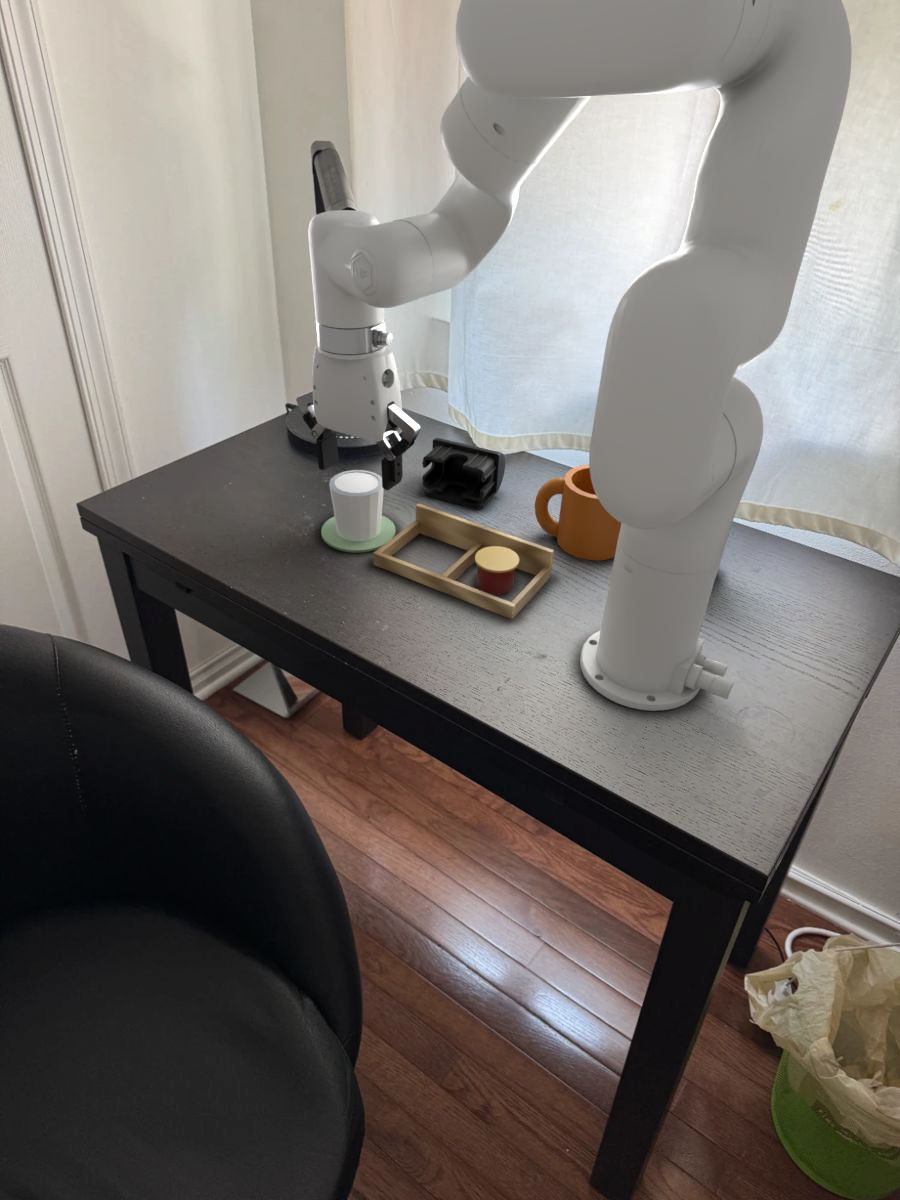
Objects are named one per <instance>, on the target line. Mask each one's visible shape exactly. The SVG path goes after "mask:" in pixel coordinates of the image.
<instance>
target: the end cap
mask: <svg viewBox="0 0 900 1200" xmlns="http://www.w3.org/2000/svg"><path fill="white" fill-rule="evenodd" d="M421 464H422V468H423V469H426V468H428V467H429V465H431V466H430V467H429V469H428V470H427V471H426V472H425V473H424V474H423V475H422V477H421V479H422V486H423V487H424V489H423V494H424V496H426V497H430V498H434V499H438V500H442V501H445V502H448V503H449V502H450V503H453V504H458V505H461V506H465V507H469V508H473V509H475V510H476V509H477V510H483V509H484V508H485V507H486V506H487V504H488V503H489V502H490V501H491V500H492V498H493V497H494V495H496V494H497V493H498V491H499V489H500V487H501V485H502V483H503V479H504V476H505V471H506V457H505V454H504V453H503V452H502V451H497V450H493V449H488V448H484V447H480V446H476V445H471V444H467V443H462V442H458V441H453V440H450V439H445V438H441V437H436V438H434V439H432V449H431V450H430V451H429V452H428V453H427V454H426V455H425V456H424V457H423V458H422V463H421Z"/></svg>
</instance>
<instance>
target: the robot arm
mask: <svg viewBox="0 0 900 1200" xmlns="http://www.w3.org/2000/svg"><path fill="white" fill-rule="evenodd" d="M456 14H457V15H456V21H455V44H456V51H457V55H458V58H459V62H460V64H461V67H462V69H463V71H464V72H465V74H466V75H467V77H466V78H465V80H464V82H463V83H462V85H461V86H460V88H459V89H458V91H457V93H456V94H455V96H454V97H453V98H452V100H451V101H450V103H449V104H448V105H447V107H446V109H444V112H443V114H442V116H441V119H440V126H439V132H440V139H441V144H442V146H443V149H444V151H445V153H446V155H447V157H448V159H449V161H451V163H452V165H453V166H454V167H455V169H456V170H457V171H458V174H457V176H456V178H454V181H453V182H452V184H451V185H450V186H449V188H448V190H447V191H446V192H445V194H444V195H443V196H442V198H441V199H440V200H439V202H438V203H437V204H436V205H435V207H434V208H432V210H431V211H430V212H428V213H422V214H418V215H412V216H407V217H404V218H403V217H402V218H399V219H395V220H392V221H388V222H383V223H380V221H379V220H378V219H377V217H376V216H374V215H373V214H372V213H369V212H366V211H361V210H352V209H351V210H349V209H342V210H341V209H339V210H328V211H324V212H319V213H318V214H316V215H314V216H313V217H312V218H311V220H310V221H309V225H308V228H307V229H308V230H307V231H308V232H307V235H308V248H309V258H310V267H311V268H310V269H311V270H310V271H311V282H312V293H313V305H314V316H315V317H314V318H315V327H316V338H317V343H316V344H315V346H314V351H313V360H312V375H311V377H312V390H310V391H307V392H306V393H303V394H301V395H299V396H296V398H295V401H296V404H297V406H298V408H299V410H300V413H301V414H302V419H303V421H304V423H305V424H306V425H307V426H308V428H309V429H310V430H311V431H310V435H311V436H310V437H312V438H313V439H314V440H315V442H316V453H317V462H318V469H319V470H321V471H325V470H327V469H328V468H329V469H330V467H332V466H334V465H335V464H337V463H339V460H340V459H339V448H338V447H339V446H338V445H339V444H338V436H337V433H339V434H343V435H347V436H350V437H354V438H358V439H361V440H365V441H368V442H372V443H373V442H374V443H375V444H376V445H377V446H378V448H379V450H380V451H381V453H382V454H383V456H384V458H382V459H381V461H380V463H381V464H380V465H381V467H380V468H381V477H382V487H383V489H384V491H390V490H391V489H392V488H394V487H396V485H398V484H400V483H401V482H402V479H403V475H404V474H403V473H404V472H403V471H404V470H403V454H405V453H406V452H407V451H408V450H409V449H410V448H411V447H413V445H414V444H415V441H416V440H417V438H418V436H419V434H420V432H421V425H420V424H419V423H418V422H417V421H415V420H414V419H413V418H412V417H410V416H409V415H408V414H407V413H406V412H404V410H403V406H402V405H403V404H402V394H401V385H400V378H399V372H398V368H397V367H398V366H397V363H396V359H395V356H394V351H393V349H392V348H389V347H390V346H391V345H393V342H394V336H393V333H391V332H387V331H386V319H385V318H386V313H385V311H386V310H385V309H390V308H396V307H398V306H403V305H406V304H409V303H411V302H414V301H417V300H419V299H421V298H425V297H428V296H431V295H434V294H437V293H441V292H444V291H447V290H451V289H452V288H454V287H456V286H457V285H459V284H461V283H462V282H463V281H464V280H466V279H467V278H468V277H470V276H471V274H472V273H473V272H475V270H476V269H477V268H478V267H479V266H480V265H481V263H483V261H484V260H485V258H486V257H487V256H488V255H489V254H490V253H491V251H493V249H494V248H495V247H496V245H498V243H499V242H500V240H501V239H502V238H503V236H504V235H505V233H506V232H507V230H508V228H509V226H510V224H511V221H512V219H513V217H514V214H515V210H516V208H517V204H518V200H519V195H520V187H521V185H522V184H523V182H524V181H525V180H526V179H527V177H528V176H529V175H530V173H531V172H533V169H534V168H535V167H536V166H537V165H538V163H540V162H541V159H543V156H544V155H545V154H546V153H547V152H548V150H549V149H550V148H551V147H552V145H554V143H555V142H556V141H557V139H558V138H559V137H560V136H561V134H562V133H563V132H564V131H565V130H566V128H567V127H568V126H569V124H571V122H572V121H574V119H575V118H576V116H577V115H578V114H579V113H580V111H581V110H582V109H583V107H584V106H585V105H586V104H587V103H588V101H590V99H591V98H592V97H603V96H604V97H606V96H607V97H608V96H625V95H626V96H627V95H629V96H630V95H631V96H632V95H655V94H671V93H677V92H685V91H698V90H705V89H710V88H712V89H714V90H715V91H716V92H717V93H718V95H719V100H720V101H719V108H718V109H719V110H718V114H717V117H716V120H715V122H714V125H713V128H712V130H711V133H710V136H709V137H708V140H707V142H706V145H705V147H704V150H703V153H702V156H701V158H700V163H699V166H698V169H697V173H696V177H695V183H694V191H693V197H692V202H691V206H690V210H689V215H688V219H687V224H686V228H685V231H684V233H683V234H684V235H683V238H682V242H681V244H680V247H679V249H678V250H677V252H676V253H673V254H671V255H668V256H665V257H664V258H662V259H660V260H658V261H656V262H654V263H653V264H651V265H650V266H648V267H647V268H645V269H644V270H643V271H642V272H640V273H639V275H637V276H636V277H635V278H634V279H633V281H632V282H631V283H630V285H629V286H628V287H627V289H626V290H625V292H623V294H622V296H621V299H620V300H619V303H618V304H617V307H616V309H615V310H614V311H615V312H614V314H613V316H612V318H611V323H610V326H609V330H608V333H607V338H606V343H605V348H604V355H603V361H602V367H601V373H600V381H599V386H598V392H597V399H596V404H595V412H594V417H593V423H592V424H593V425H592V428H591V429H592V430H591V435H590V436H591V437H590V443H589V444H590V445H589V454H588V455H589V456H588V457H589V458H588V459H589V461H588V463H589V464H588V465H589V467H590V476H591V481H592V485H593V488H594V491H595V493H596V495H597V497H598V499H599V501H600V503H601V504H602V506H603V507H604V508H605V510H606V511H607V512H608V513H609V514H610V515H611V516H612V517H614V518H615V519H616V520H618V521H619V522H621V528H620V533H619V537H618V542H617V547H616V552H615V557H613V563H612V569H611V572H610V573H611V574H610V579H609V584H608V590H607V594H606V595H607V596H606V601H605V605H604V610H603V614H602V615H603V616H602V621H601V625H600V626H601V627H600V629H599V630H598V631H596V632H594V633H592V634H591V635H590V636H589V637H588V638H587V639H586V640H585V642H584V643H583V645H582V648H581V652H580V657H579V664H580V670H581V672H582V674H583V677H584V678H585V680H586V681H587V683H588V684H589V685H590V686H591V687H592V688H593V689H594V690H595V691H596V692H597V693H599V694H600V695H602V696H603V697H604V698H607V699H608V700H609V701H612V702H614V703H616V704H619V705H621V706H624V707H627V708H630V709H636V710H640V711H651V712H657V711H668V710H672V709H676V708H679V707H681V706H684V705H686V704H688V703H689V702H691V701H692V700H693V699H694V698H695V697H696V696H697V695H698V693H699V691H700V690H704V691H707V692H709V694H712V695H714V696H716V697H719V698H722V699H724V700H728V699H729V697H730V695H731V692H732V691H733V686H734V683H735V680H732V679H730V678H727V677H725V675H726V673H727V670H728V668H729V665H728V664H726V663H723V662H722V661H719V660H713V659H711V658H709V657H707V654H705V653H703V652H702V650H703V647H704V644H705V639H704V638H702V637H700V633H701V631H702V626H703V622H704V619H705V616H706V612H707V609H708V605H709V601H710V599H711V595H712V593H713V592H712V591H713V588H714V586H715V585H714V584H715V582H716V578H717V575H718V573H717V571H719V569H718V567H719V568H720V565H721V562H722V559H723V555H724V551H725V549H726V545H727V541H728V538H729V535H730V531H731V528H732V525H733V522H734V519H735V516H736V514H737V511H738V508H739V505H740V503H741V500H742V498H743V496H744V493H745V490H746V488H747V486H748V483H749V481H750V478H751V476H752V473H753V472H754V468H755V466H756V463H757V461H758V457H759V454H760V451H761V447H762V442H763V437H764V417H763V411H762V408H761V405H760V402H759V400H758V398H757V397H756V396H757V395H756V394H755V393H754V392H753V390H752V388H750V387H749V385H747V384H746V383H745V382H744V381H742V379H740V378H738V377H736V376H735V374H736V373H737V372H739V371H741V370H742V369H744V368H745V367H746V366H747V365H749V364H750V363H752V362H753V361H755V360H756V359H757V358H759V357H760V356H761V355H762V354H764V352H765V353H766V351H767V350H769V348H770V347H771V346H772V345H773V344H774V342H775V341H776V340H777V339H778V337H779V336H780V334H781V333H782V331H783V329H784V327H785V323H786V321H787V319H788V315H789V312H790V307H791V303H792V301H793V300H792V299H793V295H794V292H795V287H796V283H797V280H798V277H799V273H800V269H801V266H802V264H803V263H802V262H803V260H804V257H805V253H806V249H807V245H808V243H809V238H810V236H811V231H812V228H813V225H814V221H815V217H816V214H817V210H818V206H819V201H820V197H821V192H822V189H823V185H824V183H825V182H824V181H825V179H826V175H827V171H828V168H829V165H830V161H831V157H832V154H833V151H834V147H835V144H836V140H837V137H838V134H839V130H840V127H841V122H842V118H843V115H844V111H845V107H846V106H845V105H846V103H847V97H848V93H849V87H850V79H851V70H852V54H853V53H852V37H851V36H852V35H851V29H850V22H849V19H848V16H847V12H846V8H845V6H844V3H843V0H460V3H459V6H458V10H457V13H456ZM399 430H401V431H402V436H400V434H399V433H398V431H399ZM389 442H390V443H389ZM391 444H392V445H391ZM720 561H721V562H720ZM719 564H720V565H719ZM716 574H717V575H716Z"/></svg>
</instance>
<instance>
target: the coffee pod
mask: <svg viewBox="0 0 900 1200" xmlns="http://www.w3.org/2000/svg"><path fill="white" fill-rule="evenodd" d="M474 563H475V564H476V566H477V570H476V586H477V587H478V589H479V590H480V591H483V592H486V593H488V594H491V595H503V594H507V593H509V592H510V591H511V590H512V589H513V587H514V583H515V573H516V569H517V568H516V567H517V566H518V564H519V557H518V555H517V554H516V553H515V552H514V551H512V550H511V549H508V548H505V547H500V546H490V547H485V548H483V549H481V550H479V551H478V552H477V553H476V555H475V562H474Z"/></svg>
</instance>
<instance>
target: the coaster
mask: <svg viewBox="0 0 900 1200" xmlns="http://www.w3.org/2000/svg"><path fill="white" fill-rule="evenodd" d="M320 532H321V533H320V535H321V539H322V540H323V542H324V543H325V544H327V546H329V547H331V548H333V549H335V550H338V551H341V552H345V553H353V554H355V553H356V554H358V553H370V552H375V551H377V550H378V549H379V548H380V547H382V546H383V545H384V544H386V543H387V542H388V541H390V540H391V539H392V538H393V537H395V536H396V535H397V534H396V532H397V531H396V526H395V523H394V522H393V521H392V520H391V519H390V518H389V517H387V516H385V515H383V514H382V516H381V528H380V533H379V534H378V535H377V536H376V537H375V538H373V539H370V540H367V541H350V540H346V539H344V538H342V537H341V536H339V534H338V532H337V528H336V522H335V516H334V515H333V516H331V517H330V518H329V519H327V520H326V521H324V523H323V525H322V526H321V530H320Z"/></svg>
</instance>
